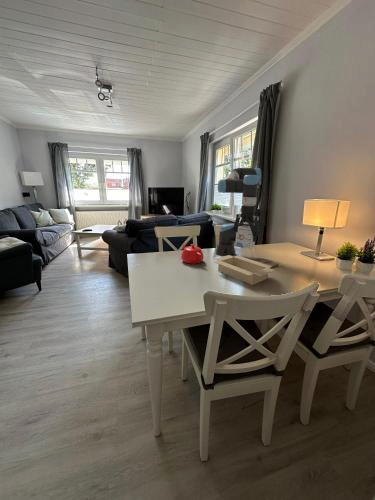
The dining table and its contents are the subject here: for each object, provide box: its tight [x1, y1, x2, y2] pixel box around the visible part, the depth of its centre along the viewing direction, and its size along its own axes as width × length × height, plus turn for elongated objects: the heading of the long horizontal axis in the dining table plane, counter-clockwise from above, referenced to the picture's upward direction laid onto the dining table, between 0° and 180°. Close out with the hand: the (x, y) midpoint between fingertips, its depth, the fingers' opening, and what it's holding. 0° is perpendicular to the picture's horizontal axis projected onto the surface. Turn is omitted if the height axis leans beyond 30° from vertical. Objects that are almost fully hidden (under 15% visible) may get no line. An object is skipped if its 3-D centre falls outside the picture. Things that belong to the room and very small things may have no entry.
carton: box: [213, 255, 275, 286], centre depth 126 cm, size 33×22×7 cm, turn 39°
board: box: [253, 258, 279, 269], centre depth 144 cm, size 14×14×1 cm
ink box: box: [235, 225, 253, 250], centre depth 120 cm, size 9×5×12 cm, turn 62°
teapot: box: [180, 243, 204, 265], centre depth 146 cm, size 25×16×12 cm, turn 31°
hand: (244, 244), depth 121 cm, fingers closed on ink box, 10 cm apart
